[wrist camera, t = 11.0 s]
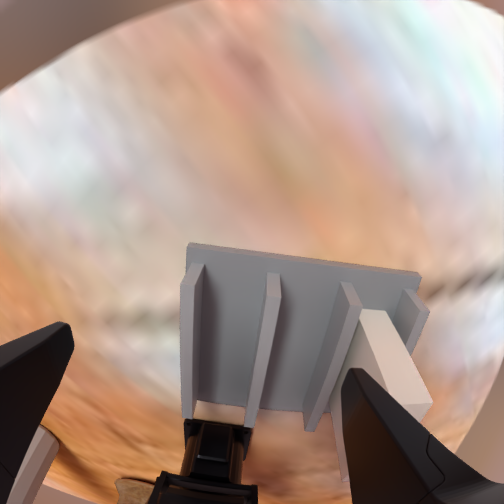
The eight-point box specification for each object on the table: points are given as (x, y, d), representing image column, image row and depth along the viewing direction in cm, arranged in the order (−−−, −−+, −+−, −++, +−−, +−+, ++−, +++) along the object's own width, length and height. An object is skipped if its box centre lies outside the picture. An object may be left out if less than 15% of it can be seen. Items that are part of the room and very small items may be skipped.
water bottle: (41, 417, 31) (-30, 552, 8) (71, 452, 34) (17, 578, 10) (6, 410, 32) (-61, 521, 9) (34, 442, 35) (-20, 550, 11)
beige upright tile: (353, 390, 24) (375, 479, 15) (326, 389, 24) (341, 481, 15) (385, 310, 21) (433, 402, 12) (354, 308, 21) (393, 405, 12)
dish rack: (361, 406, 26) (369, 437, 22) (186, 391, 26) (177, 423, 22) (417, 272, 20) (440, 298, 17) (189, 242, 20) (173, 266, 17)
